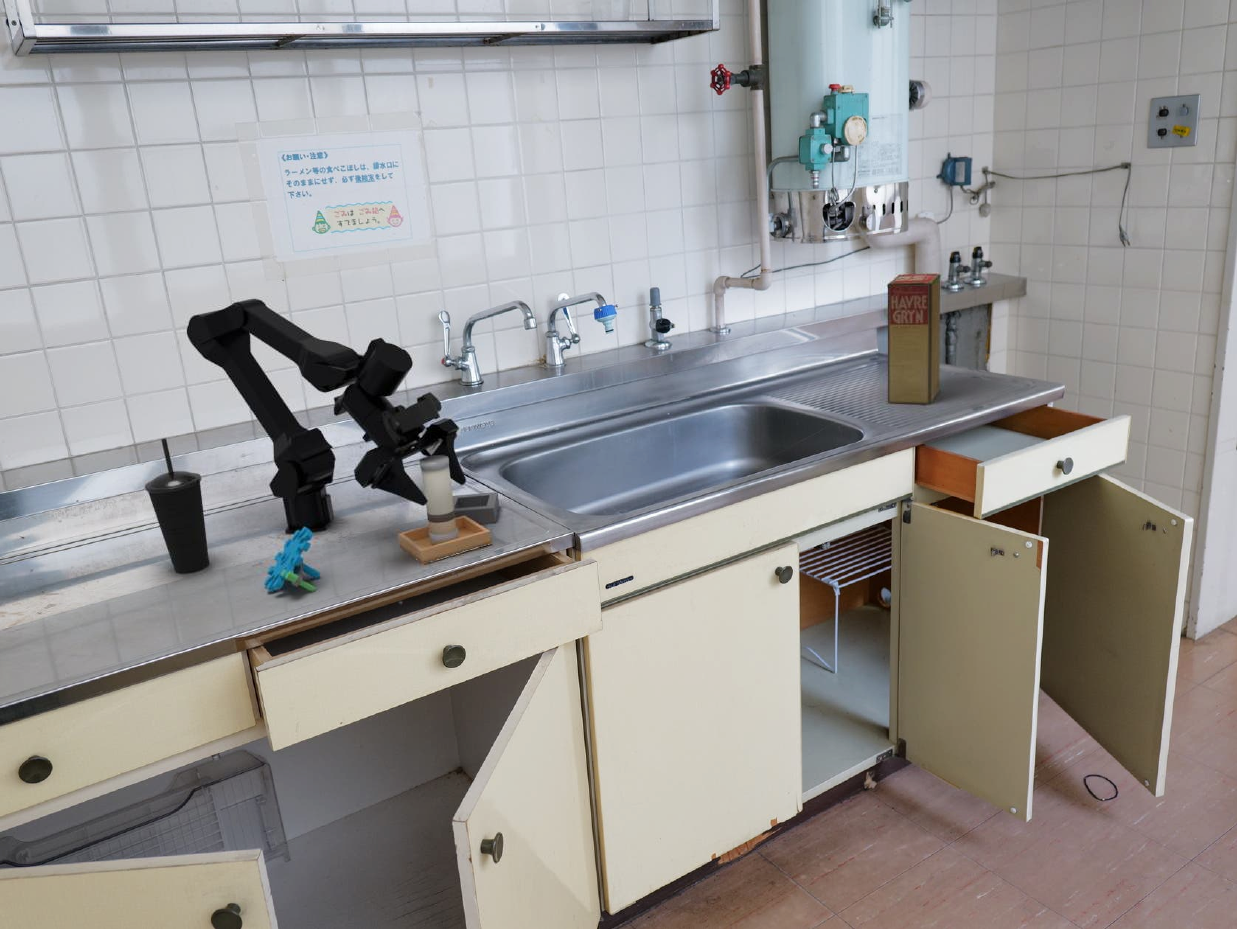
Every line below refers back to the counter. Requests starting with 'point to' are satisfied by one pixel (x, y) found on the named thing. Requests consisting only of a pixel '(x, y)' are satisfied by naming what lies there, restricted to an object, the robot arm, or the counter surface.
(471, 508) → the socket block
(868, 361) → the counter surface
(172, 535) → the drinking cup
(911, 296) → the food packaging
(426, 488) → the cylinder
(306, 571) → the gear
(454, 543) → the tray
